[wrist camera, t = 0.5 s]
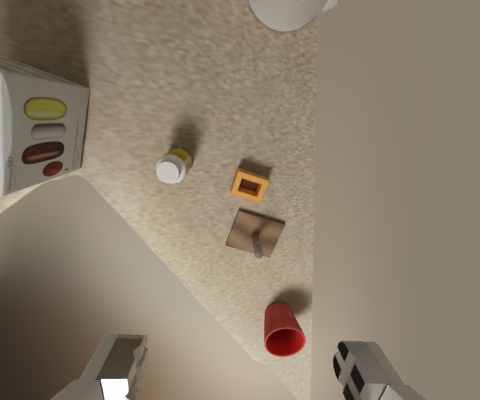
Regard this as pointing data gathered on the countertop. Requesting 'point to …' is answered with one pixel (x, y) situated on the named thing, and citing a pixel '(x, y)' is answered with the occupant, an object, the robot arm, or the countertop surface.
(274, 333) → the flower pot
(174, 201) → the countertop surface
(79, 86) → the supplement box
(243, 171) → the orange hollow square block
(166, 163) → the supplement bottle
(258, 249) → the peg mounting plate
